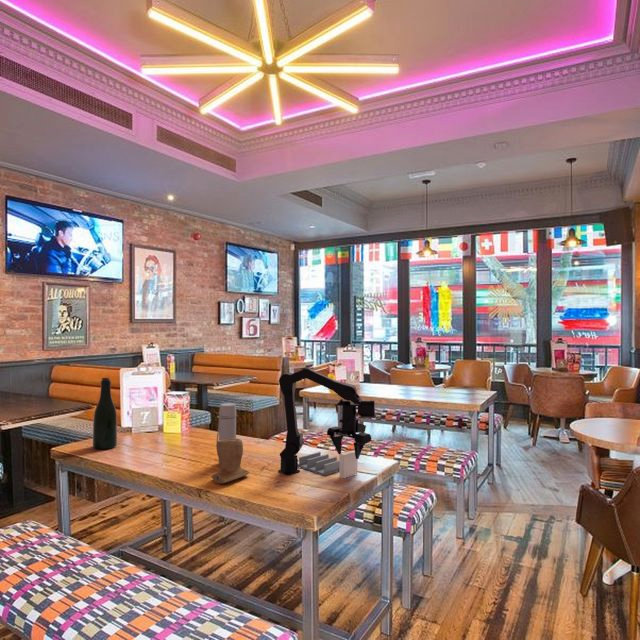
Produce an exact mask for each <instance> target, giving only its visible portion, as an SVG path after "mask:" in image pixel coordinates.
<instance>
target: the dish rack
mask: <svg viewBox="0 0 640 640" xmlns="http://www.w3.org/2000/svg"><path fill="white" fill-rule="evenodd" d="M339 463H340V459H338V456H332V457H329V453H327V454H324V455H322V454H321V451H317V452H314V453H309V454H306V455H302V456H298V468H299V467H301V468H300V469H302V468H303V470H306V469H307V470H306V471H309V472H311V473H315V472H316V473H315V474H318V475H321V476H324V475H325V476H328V475H330V474H334V473H337V472H339Z"/></svg>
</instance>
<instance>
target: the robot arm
mask: <svg viewBox="0 0 640 640" xmlns="http://www.w3.org/2000/svg"><path fill="white" fill-rule="evenodd" d="M305 379H307V380H310V381H312V382H314V383H316V384H318V385H320V386H322V387H324V388H327V389H328V390H331V391H333V392H334V393H335V394H336V395H338V397H340V398H341V399H340V400H339V401H338V402H337V403H336V406H340V407H341V418H340V419H339V423H341V427H339V426H332V427H328V428H327V429H326V435H327V436H329V438H330V439H331V442H332V443H333V445H334V448H335V450H336V452H337V454H338V455H340V454H342V443H343V438H344V437H346V438H350V439H353V440H354V442H353V451H355V457H356V459H357V460H358V459H360V455H361V453H362V450H363V448H364V446H365V445H366V444H369V442H372V435H371V434H370V433H367V432H366V429H367V425H365V424H361V423H360V422H359V419H358V418H357V415H358V417H359V416H360V418H362V419H364V418H365V419H375V418H376V407H375V406H376V405H375V404H376V403H375V400H374V399H371V400H363V399H362V398H361V397H360V396H359V394H358V389H357V387H356V386H355V384H351V383H348V382H344V381H339V380H335V379H333V378H332V377H329V376H326V375H325V374H322V373H320V372H318V371H316V370H313V369H312V368H311V367H305V368H303V369H301V370H299V371H295V372H290V371H289V372H286V373H283V374H282V375H280V376H279V379H278V384H279V387H280V391H281V393H282V395H283V401H284V409H285V420H286V431H287V432H286V437H285V445H284V448H283V450H281V451H280V453H279V457H280V469H278V470H277V472H278V473H281V474H284V475H287V476H289V475H290V476H291V475H293V474H297V473H300V471H301V470H299V467H298V464H299V458H298V455H297V454H298V453H299V452H300V451H301V449H302V448H303V445H304V444H305V441H304V439H303V438H304V433H303V432H302V433H300V432H299V429H298V428H299V426H298V421H297V420H298V419H297V418H298V417H297V407H296V406H297V405H296V398H295V394H296V388H297V387H296V386H297V382H300V381H302V380H305Z"/></svg>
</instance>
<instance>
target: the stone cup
mask: <svg viewBox="0 0 640 640" xmlns="http://www.w3.org/2000/svg"><path fill="white" fill-rule="evenodd" d="M216 442H217V441H216ZM216 453H217V458H218V463H219V462H220V464H219V471H217V472H216V473H213V474H211V476H210V477H211V478H212V480H214V482H216V483H217V484H219V485H220V484H226V483H229V482H231V481H235V480H237V479H240V478H243V477H245V476H247V475H249V474H250V471H249V470H246V469H244V468H242V467H241V465H242V459H243V454H244V445H243V441H242V439H241V438H236V439H224V440H219V439H218V442H217V449H216Z"/></svg>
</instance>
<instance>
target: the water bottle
mask: <svg viewBox="0 0 640 640" xmlns="http://www.w3.org/2000/svg"><path fill="white" fill-rule="evenodd" d="M216 418H218V424H217V434H216V444H215V445H216V446H215V447H216V450H217V442H218V441H219V440H224V439H237V405H236V403H234V402H233V403H232V402H226V403H225V402H224V403H220V404H219V412H218V415H217V417H216ZM218 463H219V465H220V462H219V461H218Z"/></svg>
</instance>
